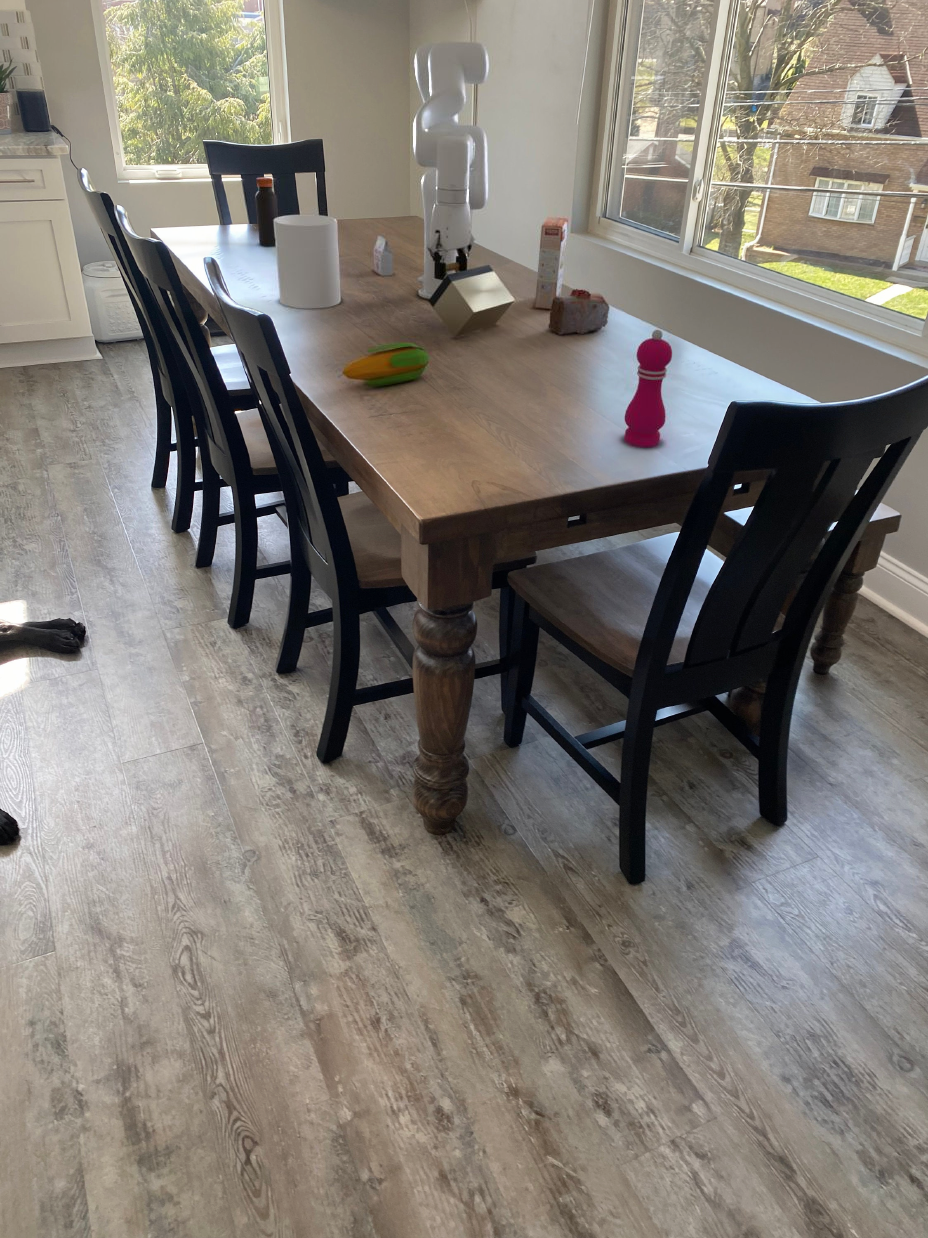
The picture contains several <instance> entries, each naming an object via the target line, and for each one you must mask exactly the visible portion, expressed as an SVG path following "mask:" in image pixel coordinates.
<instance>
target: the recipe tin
mask: <svg viewBox="0 0 928 1238" xmlns="http://www.w3.org/2000/svg"><path fill="white" fill-rule="evenodd" d="M459 267H460V265H459V263H458V262H455V263H451V264H446V277H445V278H444V280H443V281H442V282H441V284H440V285H439V286H438V288H437V289H436V291H435V292H434V293H433V295H432V296H431V298H430V299H427V301H428V303H429V304H430V306H431V307H432V309H433V310H434V311H435V313H436V314H437V316H438V317H439V318H440V320H441V321H442V323H443V324H444V325H445V326H446V328H447V329H448V331H449V332H450V333H451V335H452V336H453V338H457V337H461V336H463V335H467V334H470V333H473V332H477V331H481V330H484V329H486V328H489V327H492V326H495V325H496V324H497V323H498V322H499V321H500V319H501V318H502V317H503V316H504V315H505V314H506V312H507V311H508V310H509V309H510V307H511V306H512V305H513V304H514V303H515V301H516V300H515V298H514V297H513V296H512V294H511V293H510V291H509V290H508V289H507V287H506V286H505V284H504V283H503V282H502V280H501V279H500V278H499V276H498V275H497V273H495V271H494V269H493V268H492V267H491V265H490V264H486V265H481V266H477V267H473V268H469V269H467V270H465V271H461V272H460V271H459V270H458V269H459ZM452 270H454V271H455V272H456V273H452V274H448V273H447V272H448V271H452Z"/></svg>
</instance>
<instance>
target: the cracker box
mask: <svg viewBox="0 0 928 1238" xmlns="http://www.w3.org/2000/svg"><path fill="white" fill-rule="evenodd" d="M568 226H569V218H566V217H555V216H548V217H546V219H545V221H544V222H543V223H542V224H541V227H540V239H539V240H540V242H539V252H538V261H537V262H538V263H537V275H536V284H535V285H536V286H535V298H534V308H535V309H541V310H542V309H543V310H550V311H551V306H552V301H553V298H554V297H556V296H562V294H561V293H562V284H563V277H564V275H563V274H564V266H565V255H566V246H567V237H568V236H567V235H568Z"/></svg>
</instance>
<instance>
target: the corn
mask: <svg viewBox="0 0 928 1238" xmlns="http://www.w3.org/2000/svg"><path fill="white" fill-rule="evenodd" d="M373 352H374V353H373ZM366 353H371V354H368V355H365V356H362V357H359V358H357V359H355V360H353V361H351V362H350V363H348V364H346V365H345V367H344V368H343V370H342V371H341V372H342V375H343V376H345V377H346V378H347V379H349V380H358V381H359V380H360V381H364V383H362V386H364V387H383V386H391V385H394V384H400V383H405V382H410V381H415V380H416V379H417V378H418V377H420V376H421V375H422V374H423V372H425V370H426V368H427V366H428V363H429V361H430V358H429V354H428V352H427V351H426V350H425V349H424V348H422V347H420V346H418V345H417V344H415V343H413V342H401V341H400V342H395V343H389V344H385V345H380V346H374V347H372V348H369V349H366Z"/></svg>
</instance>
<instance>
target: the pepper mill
mask: <svg viewBox="0 0 928 1238" xmlns="http://www.w3.org/2000/svg"><path fill="white" fill-rule="evenodd" d="M663 336H664V335H663V331H662V330H660V329H655V330H653V331H652V333H651V337H650V338H647V339H644V340H643V341H642V342H641V343H640V344H639V346H638V348H637V351H636V360H637V362H638V364H639V365H638V366H637V371H636V375H637V376H638V384H637V387H636V391H635V393H634V395H633V397H632V399H631V400H630V402H629V403H628V406H627V408H626V410H625V413H624V423H625V424H626V426H627V427H626V429H625V432H624V441H625V443H626V444H628V445H629V446H633V447H637V448H653V447H655V446H658V445H659V443H660V438H661V432H660V430H661V429H662V428H663V427H664V425H665V423H666V417H667V415H666V409H665V408H666V407H665V404H664V400H663V396H662V395H663V394H662V385H663V381H664V379H665V378H666V377H667V371H668V368H667V366H668V365H669V364H670V363H671V361H672V358H673V349H672V346H671V345H670V343H669V342H668V341H666V340H665V339H663Z"/></svg>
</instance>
